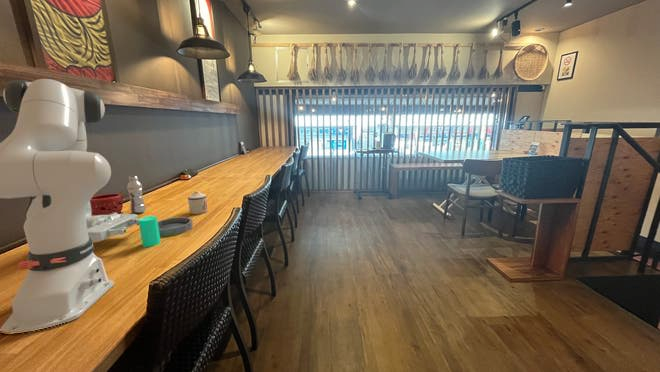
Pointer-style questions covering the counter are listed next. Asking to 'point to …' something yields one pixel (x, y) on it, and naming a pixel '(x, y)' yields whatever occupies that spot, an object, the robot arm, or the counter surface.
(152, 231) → the candle
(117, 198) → the plant pot
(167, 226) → the dish
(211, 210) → the counter surface
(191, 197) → the teacup with lid
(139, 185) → the plastic bottle
